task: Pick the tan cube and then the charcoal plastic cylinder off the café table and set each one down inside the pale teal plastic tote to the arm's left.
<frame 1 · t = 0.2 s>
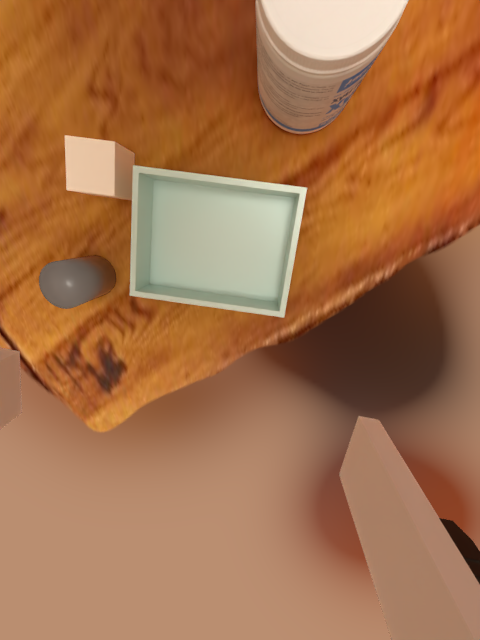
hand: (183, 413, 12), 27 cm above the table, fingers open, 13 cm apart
tan cube: (113, 174, 35), on the table
teal tote: (218, 243, 37), on the table
supplement tub: (303, 84, 32), on the table
charcoal cylinder: (96, 275, 39), on the table
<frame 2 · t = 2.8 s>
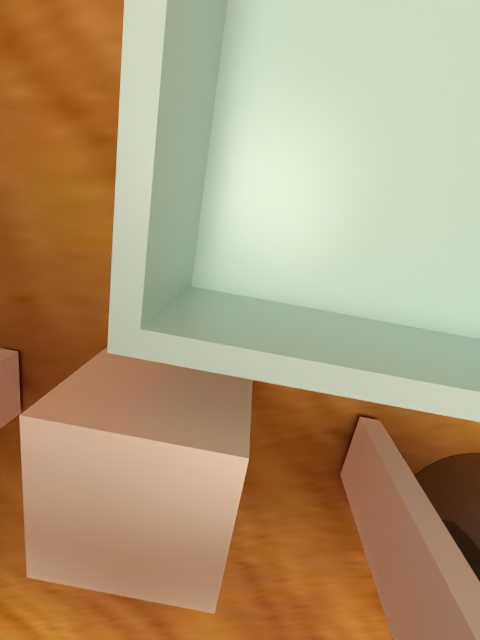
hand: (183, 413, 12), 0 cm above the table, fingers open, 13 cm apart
tan cube: (179, 406, 12), on the table
teal tote: (457, 27, 8), on the table
charcoal cylinder: (463, 504, 12), on the table, touching gripper
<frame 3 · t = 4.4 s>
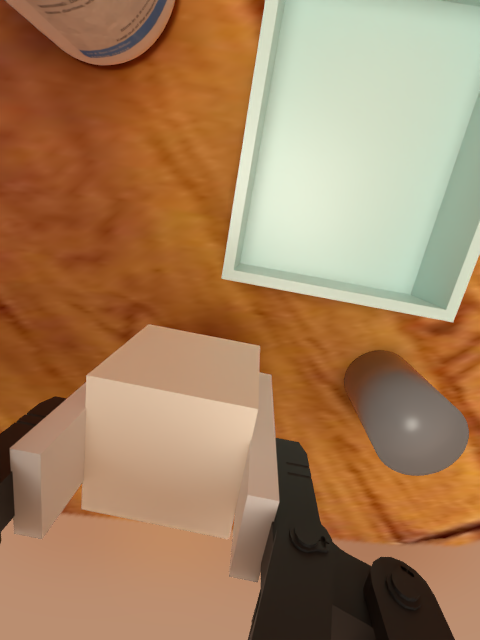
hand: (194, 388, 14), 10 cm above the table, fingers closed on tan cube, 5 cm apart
tan cube: (196, 385, 14), point 10 cm above the table, touching gripper
teal tote: (353, 155, 20), on the table
charcoal cylinder: (377, 380, 24), on the table
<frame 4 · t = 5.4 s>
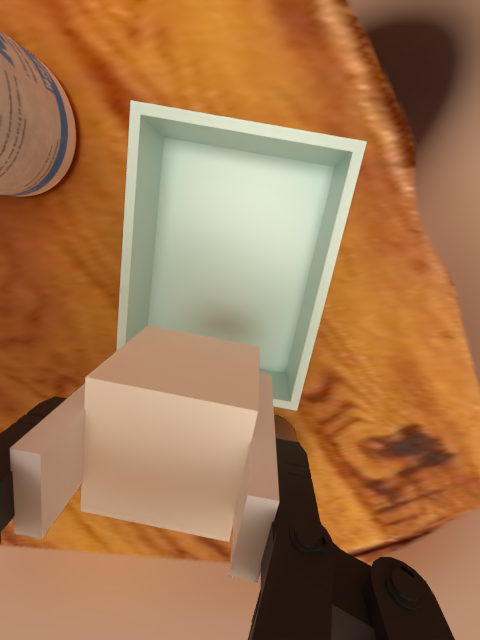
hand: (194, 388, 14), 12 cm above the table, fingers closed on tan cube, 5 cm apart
tan cube: (196, 386, 14), point 12 cm above the table, touching gripper
teal tote: (231, 265, 24), on the table
supplement tub: (19, 129, 23), on the table
charcoal cylinder: (268, 437, 29), on the table
when the fingers open (5 cm above the table, at t = 6.7 s): tan cube drops 4 cm, resting on teal tote.
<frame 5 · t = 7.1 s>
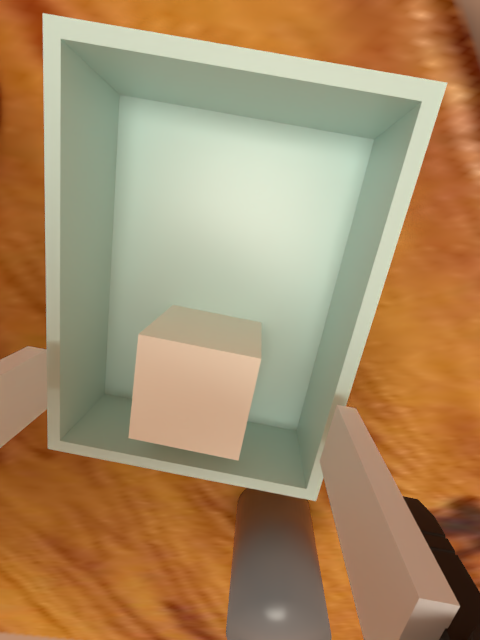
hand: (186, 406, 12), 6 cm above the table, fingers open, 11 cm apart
tan cube: (210, 354, 18), point 1 cm above the table, touching teal tote
teal tote: (221, 283, 17), on the table
charcoal cylinder: (272, 509, 21), on the table
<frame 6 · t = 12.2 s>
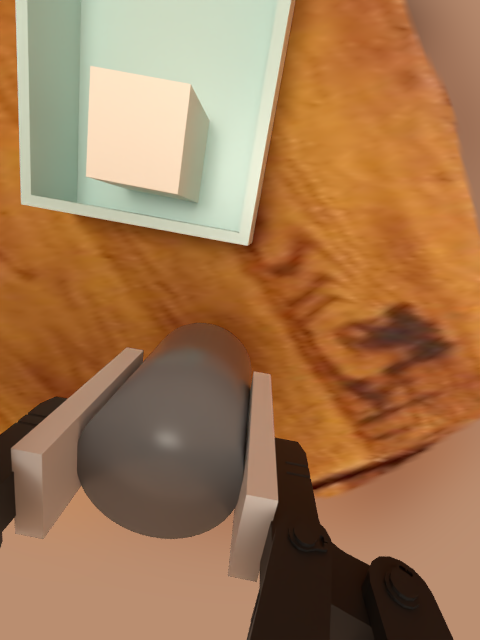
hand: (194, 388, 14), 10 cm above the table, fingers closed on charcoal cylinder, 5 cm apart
tan cube: (166, 156, 20), point 1 cm above the table, touching teal tote
teal tote: (175, 88, 20), on the table
charcoal cylinder: (202, 369, 16), point 8 cm above the table, touching gripper
when the fingers open (5 cm above the table, at t = 14.8 s): charcoal cylinder drops 3 cm, resting on teal tote.
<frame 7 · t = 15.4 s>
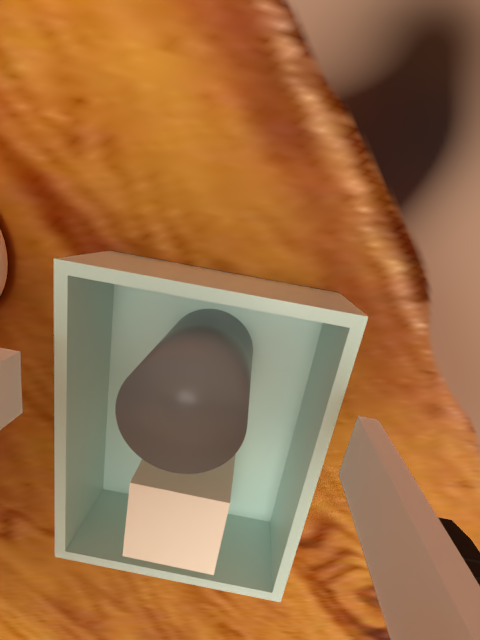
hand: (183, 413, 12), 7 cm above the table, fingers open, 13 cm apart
tan cube: (194, 460, 21), point 1 cm above the table, touching teal tote
teal tote: (203, 402, 20), on the table
charcoal cylinder: (210, 349, 18), point 1 cm above the table, touching teal tote
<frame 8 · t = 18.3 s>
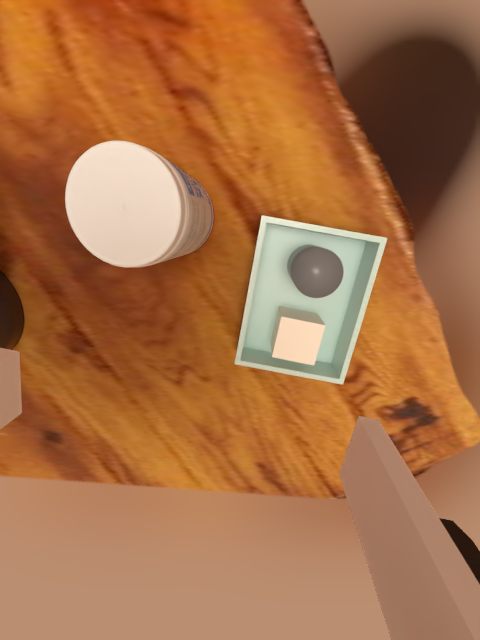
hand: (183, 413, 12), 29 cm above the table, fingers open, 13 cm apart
tan cube: (293, 328, 40), point 1 cm above the table, touching teal tote
teal tote: (299, 296, 39), on the table
supplement tub: (175, 215, 38), on the table
charcoal cylinder: (307, 265, 37), point 1 cm above the table, touching teal tote
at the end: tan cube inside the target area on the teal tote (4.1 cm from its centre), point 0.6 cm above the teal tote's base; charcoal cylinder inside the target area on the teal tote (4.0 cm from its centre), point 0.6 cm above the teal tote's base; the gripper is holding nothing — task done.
